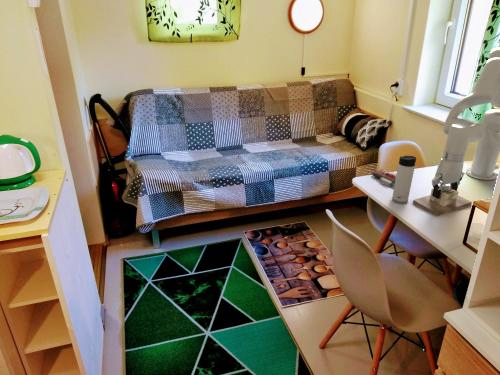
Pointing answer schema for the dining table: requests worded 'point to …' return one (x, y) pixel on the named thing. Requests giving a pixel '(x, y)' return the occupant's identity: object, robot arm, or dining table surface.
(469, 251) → the dining table surface
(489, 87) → the robot arm
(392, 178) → the walkie-talkie
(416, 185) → the dining table surface
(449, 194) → the wooden nightstand
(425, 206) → the board
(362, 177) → the dining table surface
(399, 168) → the travel mug
